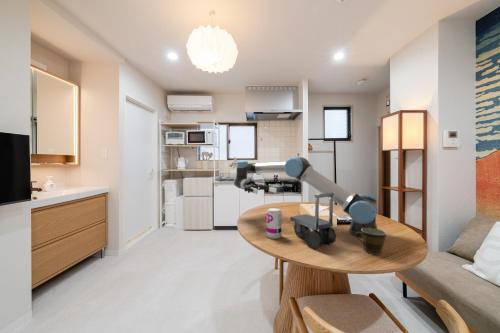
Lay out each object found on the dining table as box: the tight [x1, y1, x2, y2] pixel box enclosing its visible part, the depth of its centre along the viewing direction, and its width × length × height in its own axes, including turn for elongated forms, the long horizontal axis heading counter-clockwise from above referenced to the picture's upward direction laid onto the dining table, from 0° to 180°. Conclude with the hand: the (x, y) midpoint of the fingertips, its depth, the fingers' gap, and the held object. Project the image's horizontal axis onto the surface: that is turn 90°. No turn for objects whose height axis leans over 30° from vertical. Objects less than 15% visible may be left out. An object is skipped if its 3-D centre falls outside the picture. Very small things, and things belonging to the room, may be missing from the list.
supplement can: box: [265, 207, 283, 240], centre depth 118 cm, size 8×8×15 cm
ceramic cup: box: [354, 228, 387, 256], centre depth 99 cm, size 13×10×10 cm
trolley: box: [289, 193, 337, 250], centre depth 111 cm, size 22×12×26 cm, turn 31°
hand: (266, 191), depth 124 cm, fingers open, 13 cm apart
